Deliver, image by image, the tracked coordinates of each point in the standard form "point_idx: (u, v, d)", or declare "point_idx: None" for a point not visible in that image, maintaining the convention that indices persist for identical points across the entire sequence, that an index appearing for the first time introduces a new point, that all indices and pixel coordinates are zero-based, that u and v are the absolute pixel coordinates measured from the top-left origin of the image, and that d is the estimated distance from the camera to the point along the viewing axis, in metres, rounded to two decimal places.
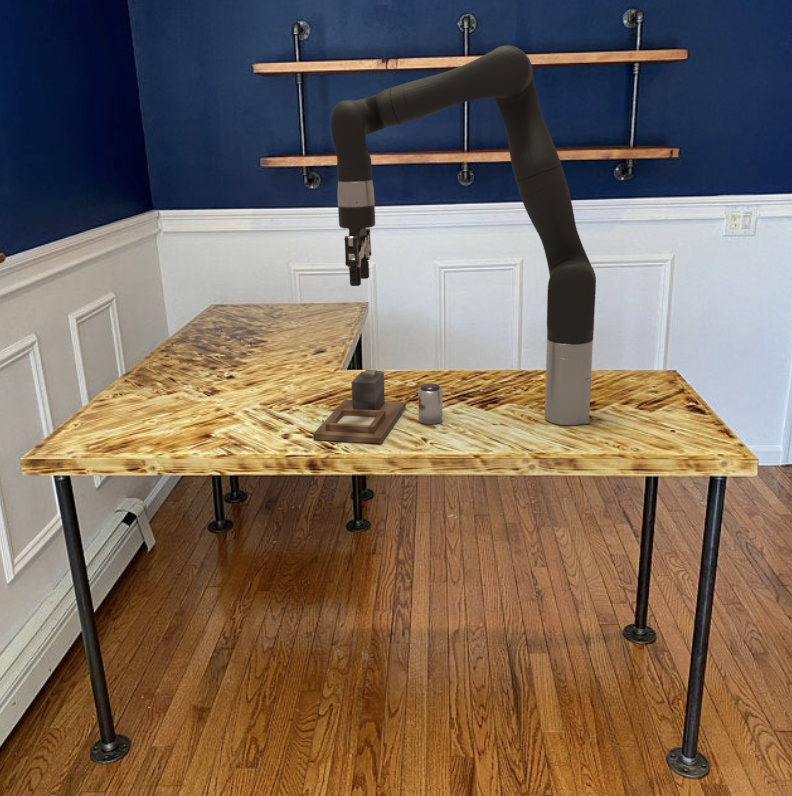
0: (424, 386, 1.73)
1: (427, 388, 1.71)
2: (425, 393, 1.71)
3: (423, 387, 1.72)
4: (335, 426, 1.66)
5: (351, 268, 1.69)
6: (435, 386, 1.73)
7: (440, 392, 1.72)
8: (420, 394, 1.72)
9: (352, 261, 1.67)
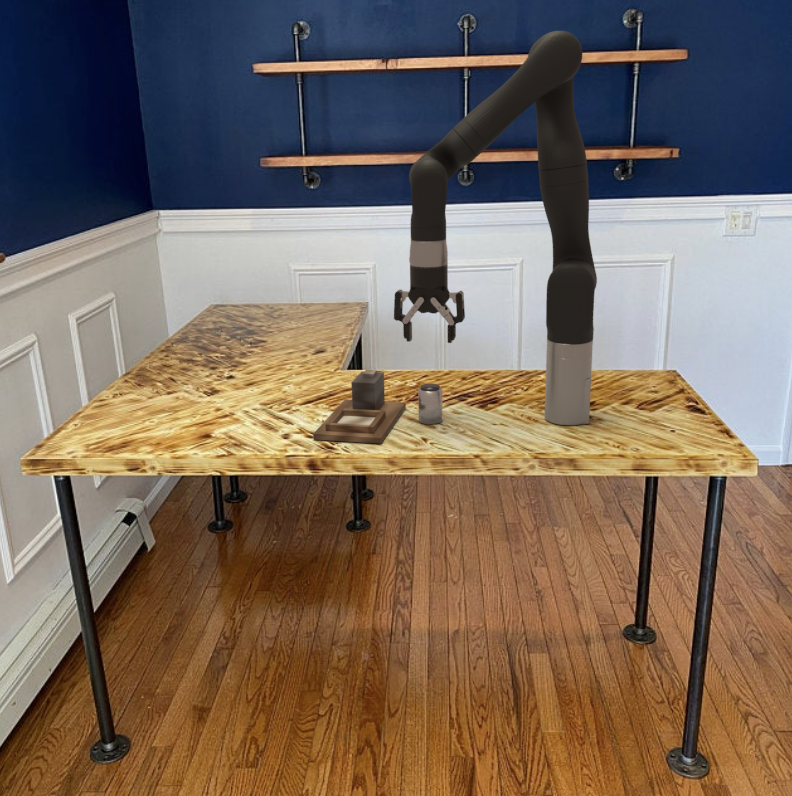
0: (424, 386, 1.73)
1: (427, 388, 1.71)
2: (425, 393, 1.71)
3: (423, 387, 1.72)
4: (335, 426, 1.66)
5: (455, 324, 1.67)
6: (435, 386, 1.73)
7: (440, 392, 1.72)
8: (420, 394, 1.72)
9: (463, 316, 1.67)
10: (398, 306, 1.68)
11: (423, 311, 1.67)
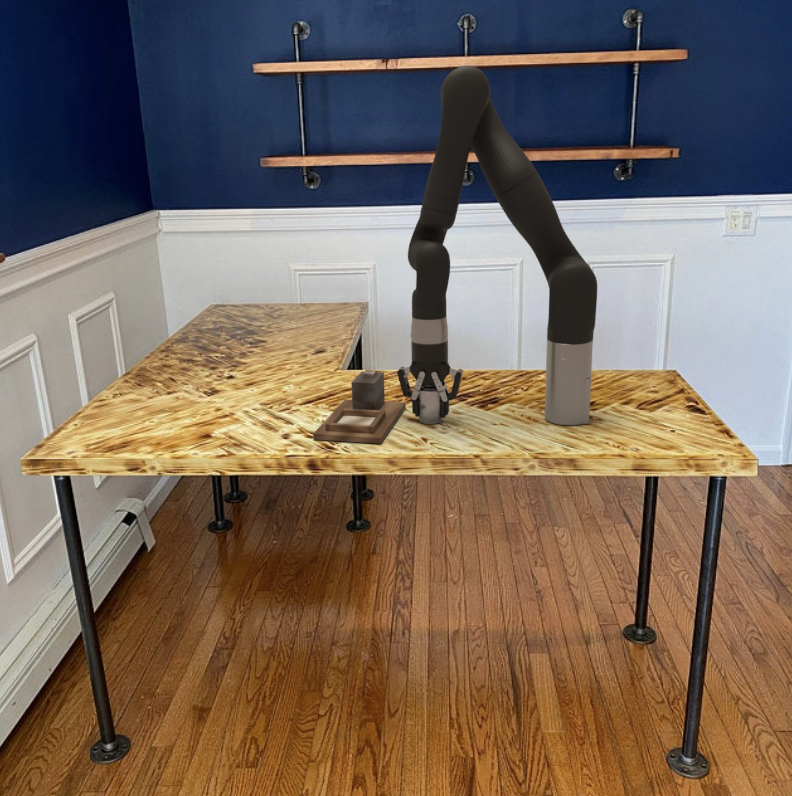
0: (424, 386, 1.73)
1: (427, 388, 1.71)
2: (425, 393, 1.71)
3: (423, 387, 1.72)
4: (335, 426, 1.66)
5: (447, 401, 1.72)
6: None
7: None
8: (420, 394, 1.72)
9: None
10: (404, 383, 1.73)
11: (424, 384, 1.72)
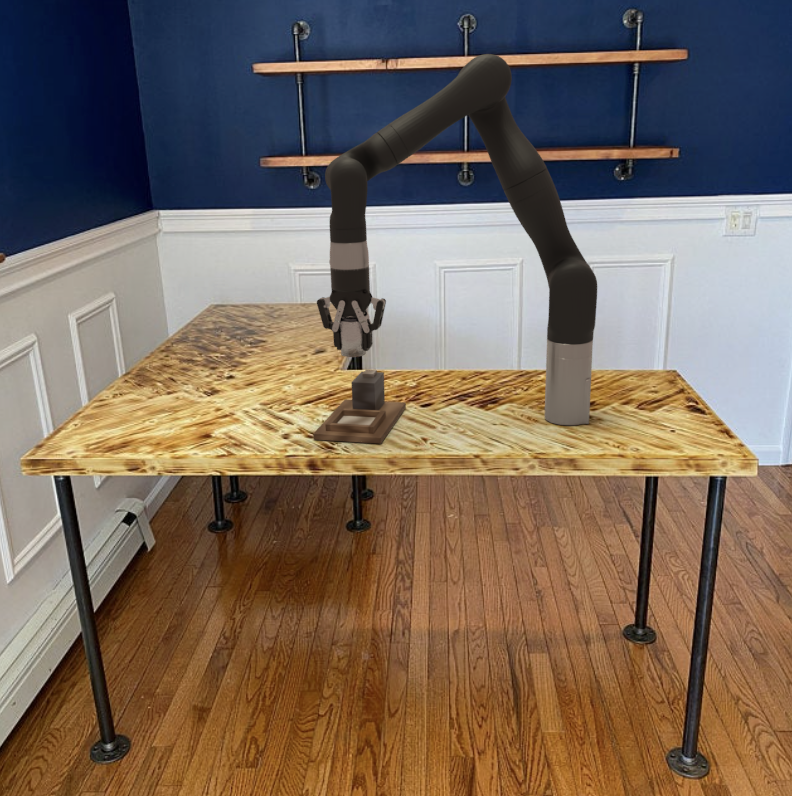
0: (346, 317, 1.64)
1: (348, 318, 1.62)
2: (346, 323, 1.62)
3: (344, 318, 1.63)
4: (335, 426, 1.66)
5: None
6: None
7: None
8: (341, 325, 1.63)
9: (379, 323, 1.63)
10: (324, 314, 1.63)
11: (345, 315, 1.63)
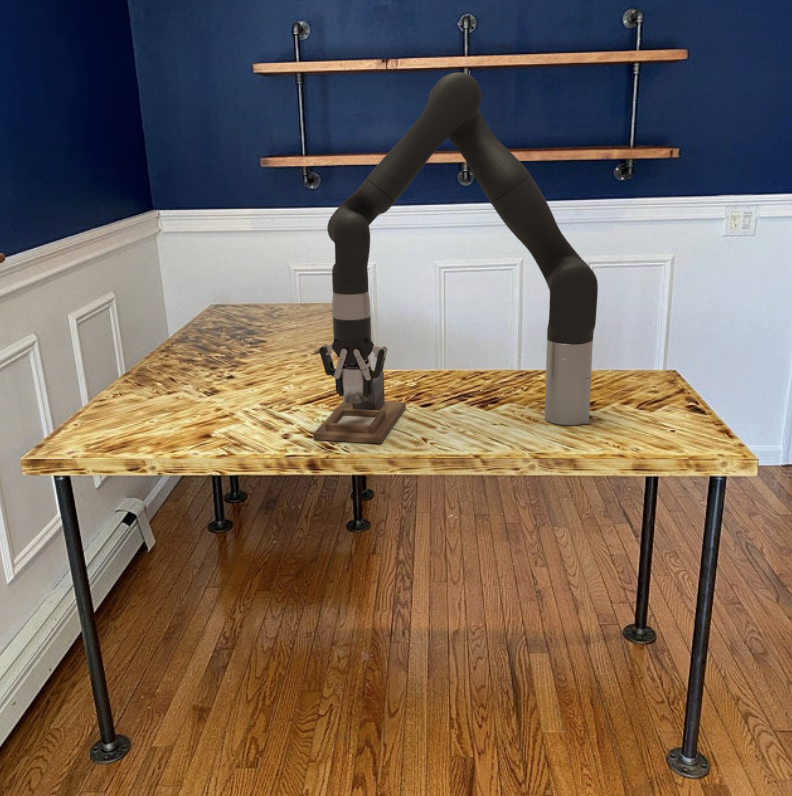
0: (347, 364, 1.67)
1: (350, 366, 1.65)
2: (348, 371, 1.65)
3: (346, 365, 1.66)
4: (335, 426, 1.66)
5: None
6: None
7: None
8: (343, 372, 1.66)
9: None
10: (326, 361, 1.66)
11: (347, 362, 1.66)
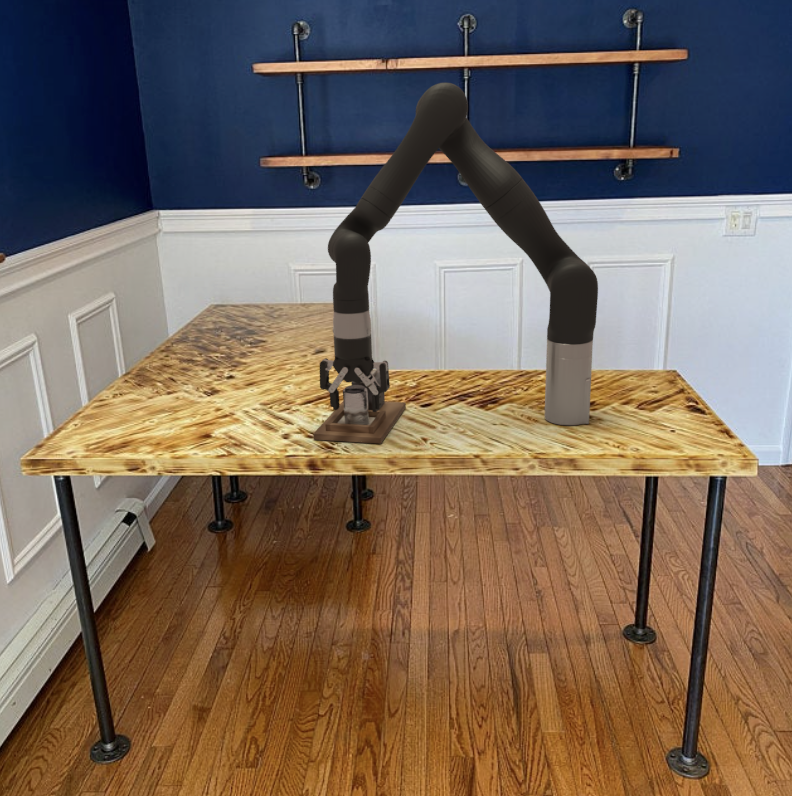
0: (348, 388, 1.68)
1: (351, 390, 1.67)
2: (349, 395, 1.66)
3: (347, 389, 1.67)
4: (335, 426, 1.66)
5: (379, 394, 1.67)
6: (360, 388, 1.68)
7: (364, 394, 1.67)
8: (344, 396, 1.67)
9: (387, 385, 1.66)
10: (323, 375, 1.68)
11: (348, 380, 1.67)
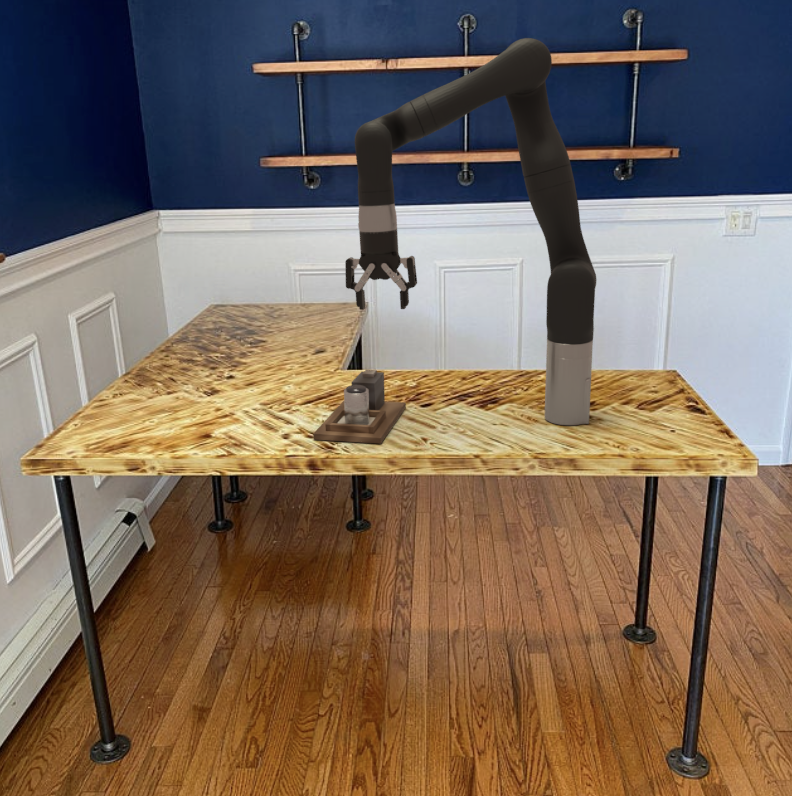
0: (350, 387, 1.68)
1: (352, 390, 1.67)
2: (349, 395, 1.66)
3: (348, 389, 1.67)
4: (335, 426, 1.66)
5: (407, 290, 1.65)
6: (361, 388, 1.68)
7: (365, 394, 1.67)
8: (345, 396, 1.67)
9: (415, 281, 1.65)
10: (349, 274, 1.66)
11: (375, 278, 1.65)
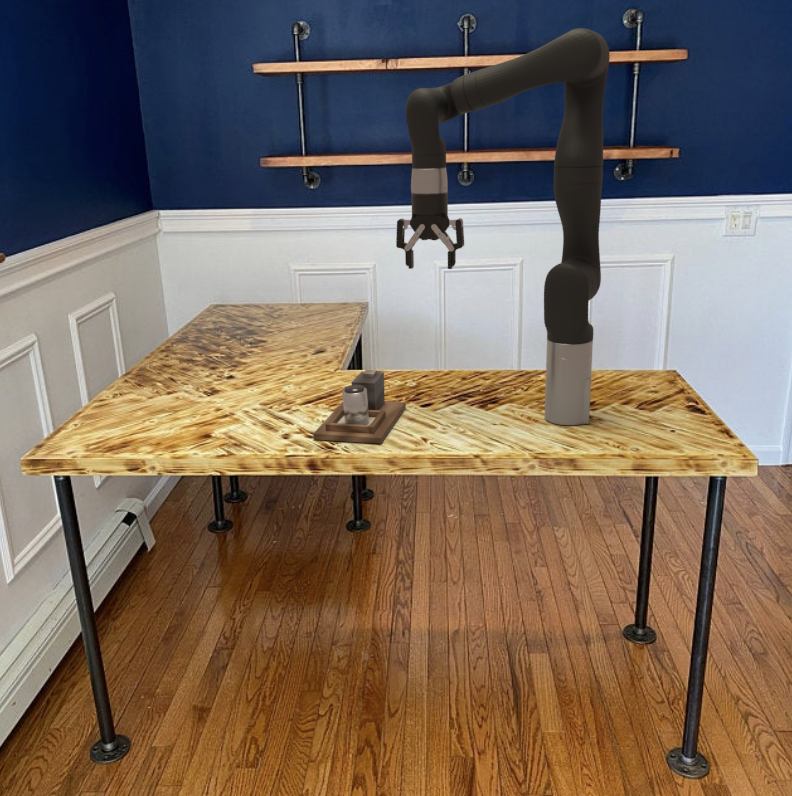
0: (348, 388, 1.68)
1: (349, 390, 1.67)
2: (347, 395, 1.66)
3: (346, 389, 1.68)
4: (335, 426, 1.66)
5: (455, 251, 1.74)
6: (359, 388, 1.68)
7: (363, 394, 1.67)
8: (343, 396, 1.68)
9: (462, 242, 1.74)
10: (400, 234, 1.75)
11: (424, 238, 1.74)
